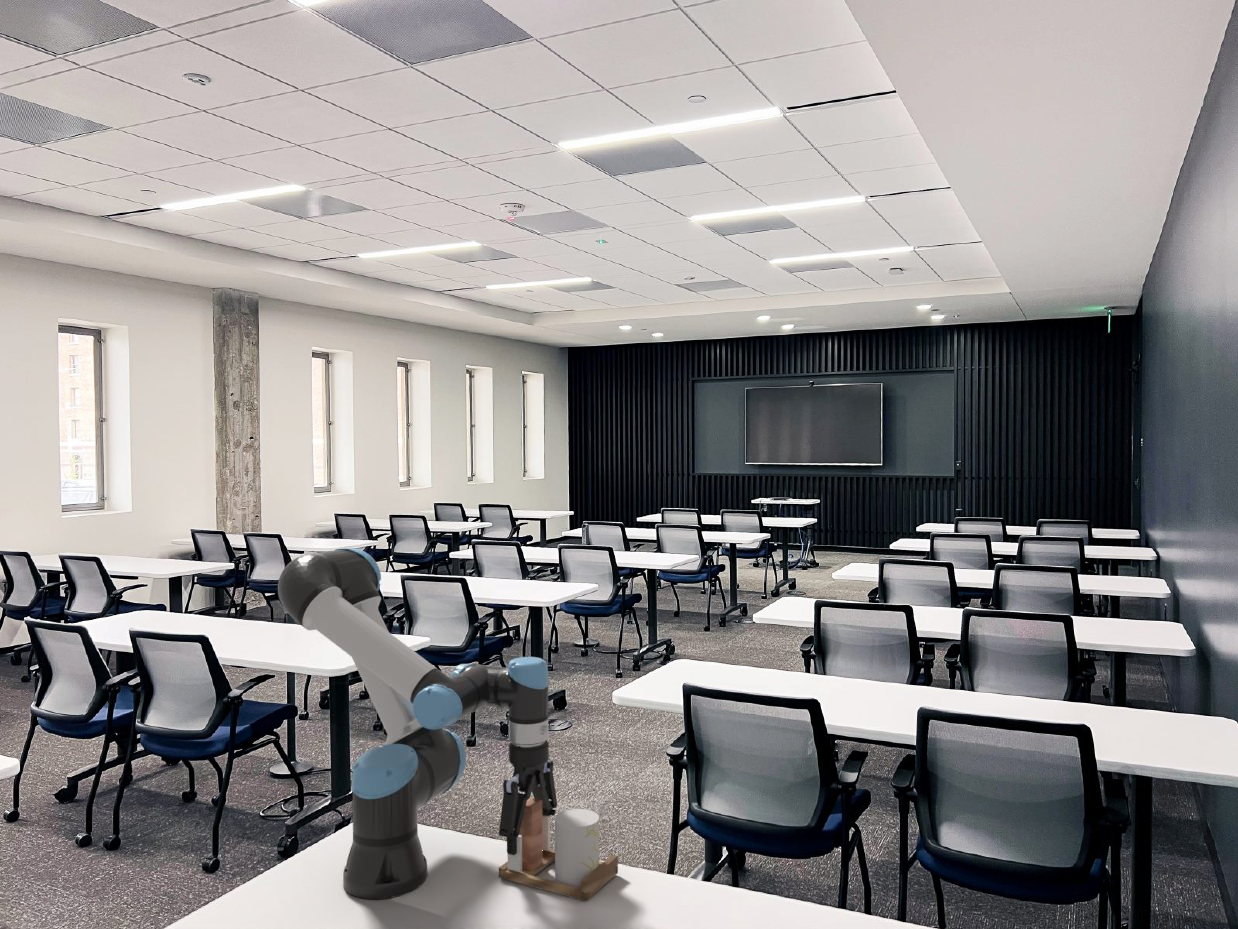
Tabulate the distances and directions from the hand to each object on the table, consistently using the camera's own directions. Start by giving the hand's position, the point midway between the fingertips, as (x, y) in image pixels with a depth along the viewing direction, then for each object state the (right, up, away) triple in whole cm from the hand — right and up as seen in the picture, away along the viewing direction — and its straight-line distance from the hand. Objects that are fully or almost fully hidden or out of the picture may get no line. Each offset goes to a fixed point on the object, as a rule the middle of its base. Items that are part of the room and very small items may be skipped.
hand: (529, 859), depth 170 cm
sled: (+6, -2, -3) cm, 7 cm away
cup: (+9, -2, -5) cm, 11 cm away
